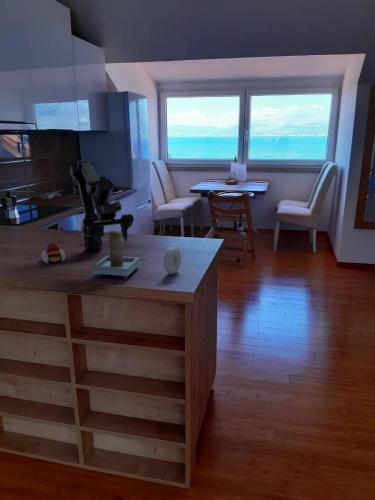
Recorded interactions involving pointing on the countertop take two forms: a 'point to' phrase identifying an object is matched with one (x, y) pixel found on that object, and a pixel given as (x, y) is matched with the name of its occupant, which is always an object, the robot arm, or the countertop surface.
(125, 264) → the tray
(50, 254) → the red yellow rounded shape
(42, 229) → the countertop surface
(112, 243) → the walnut spindle
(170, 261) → the donut
